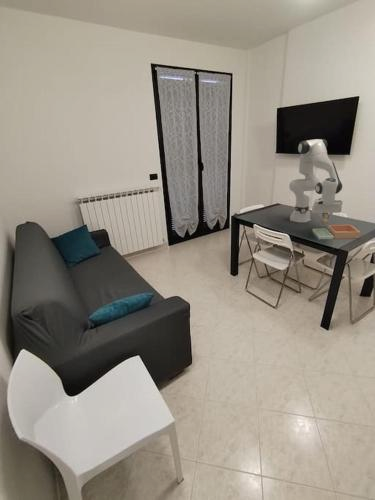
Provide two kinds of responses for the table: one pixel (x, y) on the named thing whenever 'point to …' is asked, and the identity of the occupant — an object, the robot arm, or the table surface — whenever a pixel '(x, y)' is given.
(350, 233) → the orange hollow square box
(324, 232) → the green tray
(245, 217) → the table surface
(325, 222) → the birch cylinder
